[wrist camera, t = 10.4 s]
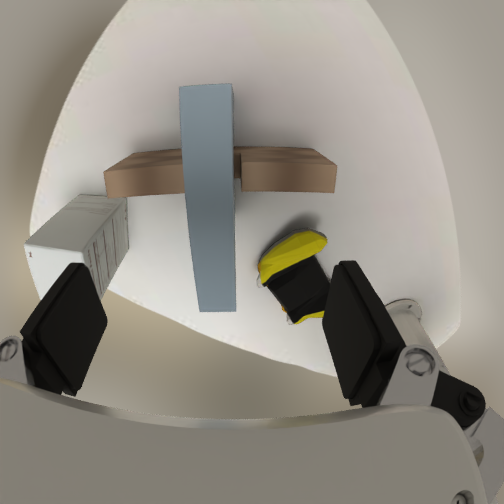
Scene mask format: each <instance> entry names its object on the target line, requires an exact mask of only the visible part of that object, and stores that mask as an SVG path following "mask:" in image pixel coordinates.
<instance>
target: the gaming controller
mask: <svg viewBox="0 0 504 504" xmlns="http://www.w3.org/2000/svg"><path fill="white" fill-rule="evenodd" d="M326 244H327V238H326V236H325V235H324V234H322V233H321V232H318V231H315V230H312V229H310V228H304V229H299V230H294V231H292V232H291V233H289V234H288V235H286V236H285V237H283V238H282V239H280V240H279V241H277V242H276V243H274V244H273V245H272V246H271V247H270V248H269V249H268V250H267V251H266V252H265V253H264V254H263V255H262V257H261V259H260V263H259V264H258V271H259V276H258V278H257V281H256V282H257V286H258V287H265V286H267V287H268V289H269V290H270V291H271V292H272V294H273V295H274V296H275V297H276V299H277V300H278V301H279V302H280V304H281V306H282V310H283V311H284V312H286V313H287V323H288V324H289V325H292V324H299V323H301V322H302V321H304V320H305V319H307V318H323V315H324V310H325V306H326V302H327V298H328V293H329V289H330V284H331V282H330V281H329V280H328V279H327V277H326V275H325V273H324V272H323V270H322V268H321V266H320V265H319V263H318V261H317V259H316V258H315V256H314V254H316V253H318V252H320V251H321V250H322V249H323V248H324V247H325V245H326Z"/></svg>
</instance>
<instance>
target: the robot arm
mask: <svg viewBox="0 0 504 504" xmlns="http://www.w3.org/2000/svg"><path fill="white" fill-rule="evenodd" d="M421 316H422V311H421V308H420V307H419V305H418V304H417V303H416V302H415V301H412V300H400V301H396V302H393V303H391V304H389V305H387V306H384V304H383V303H382V301H381V299H380V298H379V296H378V295H377V294H376V292H375V291H374V289H373V287H372V286H371V284H370V282H369V281H368V279H367V277H366V276H365V274H364V273H363V271H362V269H361V268H360V266H359V265H358V263H357V262H356V261H340V262H339V265H335V266H334V270H333V275H332V279H331V284H330V289H329V293H328V298H327V302H326V306H325V310H324V315H323V319H322V326H323V330H324V333H325V336H326V339H327V343H328V346H329V349H330V352H331V356H332V359H333V362H334V366H335V369H336V372H337V376H338V379H339V383H340V386H341V389H342V393H343V396H344V398H345V399H349V402H350V405H351V406H354V405H359V404H361V405H362V408H359V409H352V410H346V411H340V412H333V413H325V414H317V415H308V416H297V417H286V418H272V419H237V420H236V419H233V420H232V419H231V420H230V419H200V418H184V417H173V416H163V415H155V414H147V413H140V412H134V411H128V410H122V409H116V408H112V407H107V406H102V405H97V404H93V403H89V402H84V401H81V400H77V399H73V398H69V397H66V396H63V395H61V394H62V391H63V392H64V393H65V394H68V395H71V396H76V394H77V391H78V390H80V389H81V387H82V384H83V382H84V379H85V376H86V374H87V371H88V369H89V366H90V363H91V361H92V359H93V356H94V354H95V352H96V349H97V346H98V344H99V342H100V340H101V338H102V335H103V333H104V331H105V329H106V326H107V316H106V314H105V311H104V309H103V306H102V304H101V301H100V298H99V296H98V293H97V290H96V288H95V285H94V282H93V279H92V276H91V273H90V270H89V268H88V267H87V266H86V265H85V264H84V263H75V262H72V263H70V264H69V265H68V266H67V267H66V268H65V270H64V271H63V272H62V273H61V275H60V276H59V277H58V278H57V280H56V281H55V282H54V284H53V285H52V286H51V288H50V289H49V290H48V292H47V293H46V294H45V296H44V297H43V298H42V300H41V301H40V303H39V304H38V305H37V307H36V308H35V310H34V311H33V313H32V314H31V315H30V317H29V318H28V320H27V321H26V323H25V325H24V326H23V328H22V329H21V331H20V333H21V334H22V336H23V338H24V339H23V340H22V341H21V340H20V339H19V337H17V336H9V337H6V338H5V339H3V340H2V341H1V342H0V504H498V501H497V497H496V494H497V492H498V491H499V489H500V487H501V485H502V483H503V482H504V419H503V418H502V417H501V416H500V415H498V414H497V413H496V412H495V411H494V410H493V409H492V408H491V407H489V408H488V409H486V408H485V404H486V403H485V399H484V396H483V395H482V393H481V392H480V391H479V390H478V389H477V388H475V387H474V386H472V385H469V384H467V383H465V382H463V381H461V380H458V379H457V378H455V377H452V376H451V375H450V374H449V371H448V370H447V368H446V366H445V364H444V362H443V360H442V359H441V357H440V355H439V353H438V352H437V350H436V348H435V346H434V345H433V343H432V341H431V340H430V338H429V336H428V335H427V333H426V331H425V330H424V328H423V327H422V325H421V323H420V320H421Z"/></svg>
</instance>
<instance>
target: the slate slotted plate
mask: <svg viewBox="0 0 504 504" xmlns="http://www.w3.org/2000/svg"><path fill="white" fill-rule="evenodd" d="M179 97H180V126H181V146H182V161H183V175H184V188H185V199H186V209H187V219H188V229H189V238H190V246H191V254H192V262H193V269H194V277H195V284H196V291H197V297H198V304H199V310H200V312H234V311H236V272H235V200H234V151H233V143H234V121H233V89H232V84H209V85H194V86H183V87H179Z"/></svg>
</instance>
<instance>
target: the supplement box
mask: <svg viewBox="0 0 504 504" xmlns="http://www.w3.org/2000/svg"><path fill="white" fill-rule="evenodd" d="M24 248H25V253H26V257H27V260H28V264H29V267H30V271H31V274H32V277H33V280H34V283H35V286H36V289H37V292H38V294H39V297H40V300H42V298H43V297H44V296H45V294H46V293H47V292H48V290H49V289H50V288H51V286H52V285H53V284H54V282H55V281H56V280H57V278H58V277H59V276H60V275H61V273H62V272H63V271H64V270H65V268H66V267H67V266H68V265H69V264H70V263H72V262H75V263H84V264H85V265H86V266H87V267H88V268H89V270H90V273H91V276H92V279H93V282H94V285H95V288H96V290H97V293H98V296H99V298H100V301H101V299H102V297H103V295H104V293H105V291H106V289H107V287H108V285H109V283H110V281H111V280H112V278H113V276H114V274H115V272H116V271H117V269H118V267H119V265H120V263H121V262H122V260H123V258H124V256H125V255H126V253H127V251H128V249H129V247H128V229H127V199H126V198H109V199H108V197H107V196H91V195H78V196H77V197H76V198H74V199H73V200H72V201H71V202H69V203H68V204H67V205H66V206H65V207H63V208H62V209H61V210H60V211H59V212H58V213H56V214H55V215H54V216H53V217H52V218H51V219H50V220H48V221H47V222H46V223H45V224H44V225H43V226H42V227H41V228H40V229H39V230H37V231H36V232H35V233H34V234H33V235H32V236H31V237H30V238H29V239H28V240H27V241H26V242H25V243H24Z"/></svg>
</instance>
